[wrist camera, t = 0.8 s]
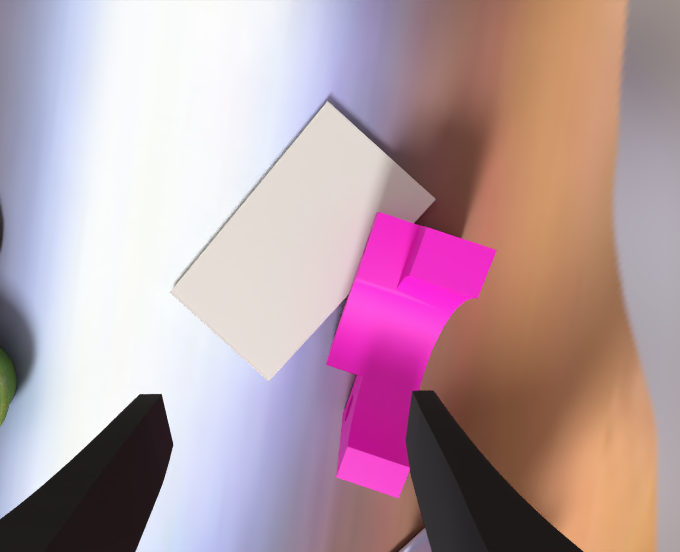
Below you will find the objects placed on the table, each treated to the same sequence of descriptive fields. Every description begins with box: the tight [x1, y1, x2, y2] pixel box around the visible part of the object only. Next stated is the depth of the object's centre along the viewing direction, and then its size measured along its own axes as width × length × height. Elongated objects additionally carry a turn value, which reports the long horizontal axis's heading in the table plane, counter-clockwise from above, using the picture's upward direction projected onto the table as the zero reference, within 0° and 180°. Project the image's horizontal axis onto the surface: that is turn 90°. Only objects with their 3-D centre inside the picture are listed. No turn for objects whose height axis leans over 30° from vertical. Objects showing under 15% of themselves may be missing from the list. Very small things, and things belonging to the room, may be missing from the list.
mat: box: [170, 101, 436, 381], centre depth 30 cm, size 10×18×1 cm, turn 139°
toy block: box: [326, 212, 497, 498], centre depth 26 cm, size 15×6×8 cm, turn 162°
